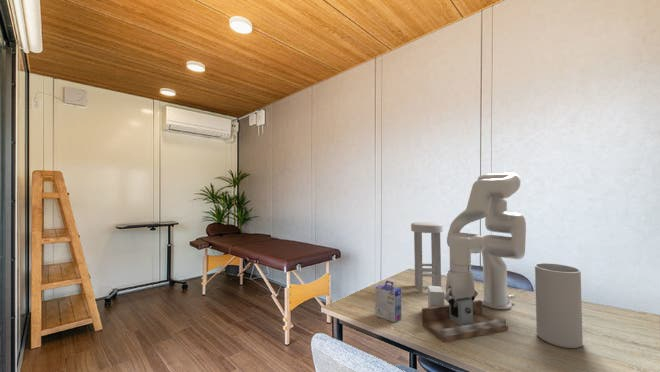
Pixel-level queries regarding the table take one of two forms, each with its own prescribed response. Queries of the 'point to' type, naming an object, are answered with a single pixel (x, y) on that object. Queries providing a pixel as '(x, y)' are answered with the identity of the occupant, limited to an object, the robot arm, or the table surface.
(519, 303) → the table surface
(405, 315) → the table surface
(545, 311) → the cylinder vase
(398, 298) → the ink cartridge box
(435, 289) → the small box
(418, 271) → the stool
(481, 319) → the wooden ridged tray
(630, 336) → the table surface
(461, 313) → the cabinet block
